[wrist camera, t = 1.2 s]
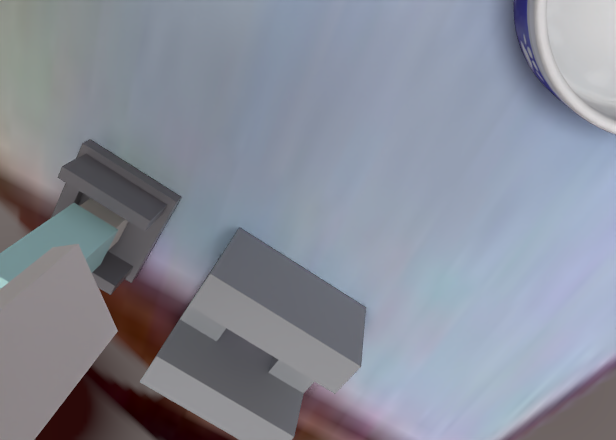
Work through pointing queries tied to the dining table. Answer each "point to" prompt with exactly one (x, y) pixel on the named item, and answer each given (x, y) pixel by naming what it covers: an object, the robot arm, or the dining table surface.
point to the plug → (66, 238)
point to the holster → (118, 208)
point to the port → (258, 343)
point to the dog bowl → (573, 53)
